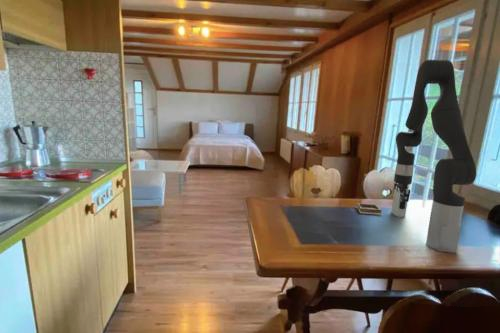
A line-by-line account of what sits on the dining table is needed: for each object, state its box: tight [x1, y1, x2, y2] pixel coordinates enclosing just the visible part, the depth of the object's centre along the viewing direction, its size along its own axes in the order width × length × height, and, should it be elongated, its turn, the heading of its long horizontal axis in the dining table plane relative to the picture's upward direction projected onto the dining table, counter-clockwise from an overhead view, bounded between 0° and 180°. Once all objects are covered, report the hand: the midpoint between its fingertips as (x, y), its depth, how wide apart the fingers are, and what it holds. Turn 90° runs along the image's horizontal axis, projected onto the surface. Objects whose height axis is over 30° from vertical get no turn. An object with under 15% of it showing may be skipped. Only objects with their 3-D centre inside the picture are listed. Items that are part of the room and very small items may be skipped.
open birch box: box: [356, 202, 382, 216], centre depth 141 cm, size 9×10×2 cm
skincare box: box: [391, 189, 408, 218], centre depth 136 cm, size 6×4×12 cm
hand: (399, 206), depth 136 cm, fingers open, 6 cm apart
